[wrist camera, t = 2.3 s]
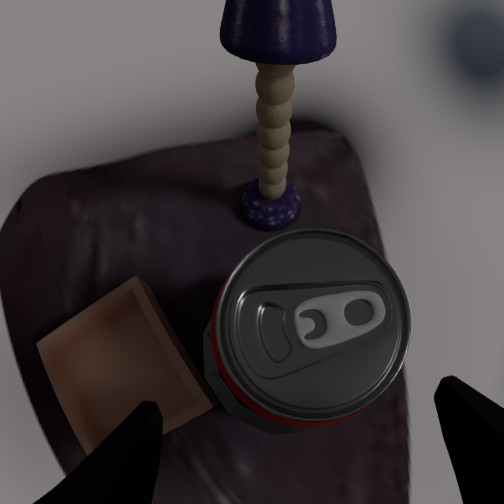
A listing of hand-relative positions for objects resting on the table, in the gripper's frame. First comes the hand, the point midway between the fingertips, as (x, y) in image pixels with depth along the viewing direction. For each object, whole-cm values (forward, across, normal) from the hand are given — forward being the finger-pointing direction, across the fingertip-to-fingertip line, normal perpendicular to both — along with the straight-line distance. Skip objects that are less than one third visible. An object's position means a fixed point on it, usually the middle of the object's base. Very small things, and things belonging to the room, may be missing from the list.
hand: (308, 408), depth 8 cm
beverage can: (+8, 0, +5) cm, 10 cm away
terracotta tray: (+7, +10, +6) cm, 14 cm away
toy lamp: (+16, 0, -2) cm, 16 cm away
